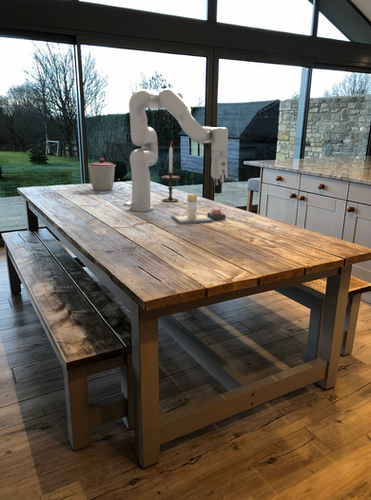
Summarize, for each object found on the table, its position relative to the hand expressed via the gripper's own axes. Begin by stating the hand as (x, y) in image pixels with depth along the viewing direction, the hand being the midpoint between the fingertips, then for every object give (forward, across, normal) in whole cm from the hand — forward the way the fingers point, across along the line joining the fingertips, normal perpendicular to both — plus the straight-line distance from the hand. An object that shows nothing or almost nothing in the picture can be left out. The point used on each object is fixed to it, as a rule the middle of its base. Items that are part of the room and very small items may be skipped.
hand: (217, 193), depth 198 cm
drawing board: (+12, 0, +13) cm, 18 cm away
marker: (+11, 0, +13) cm, 17 cm away
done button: (+11, 0, 0) cm, 11 cm away
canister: (+12, +98, +42) cm, 107 cm away
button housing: (+13, 0, 0) cm, 13 cm away
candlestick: (+12, +49, +9) cm, 51 cm away
